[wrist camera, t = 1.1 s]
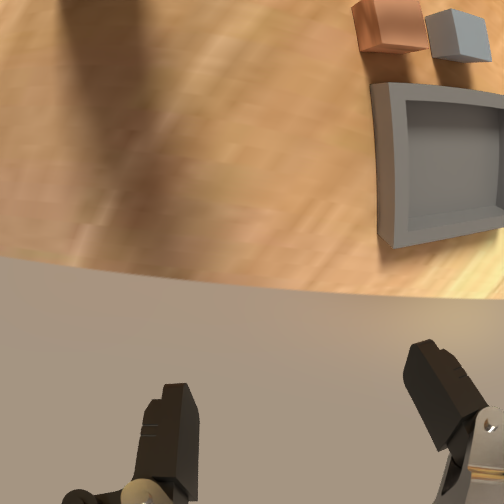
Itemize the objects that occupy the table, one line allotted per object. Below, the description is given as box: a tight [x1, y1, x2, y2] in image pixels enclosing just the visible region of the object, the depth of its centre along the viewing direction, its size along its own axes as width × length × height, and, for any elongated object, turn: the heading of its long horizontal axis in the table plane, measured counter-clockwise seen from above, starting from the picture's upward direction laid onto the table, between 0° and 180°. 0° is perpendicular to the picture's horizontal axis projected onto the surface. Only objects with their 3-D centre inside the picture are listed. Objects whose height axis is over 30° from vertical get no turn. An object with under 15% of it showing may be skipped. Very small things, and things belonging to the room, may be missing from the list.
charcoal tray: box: [370, 82, 504, 249], centre depth 27 cm, size 16×20×4 cm
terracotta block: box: [351, 0, 429, 54], centre depth 21 cm, size 5×5×5 cm
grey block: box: [425, 9, 492, 63], centre depth 21 cm, size 5×5×5 cm
